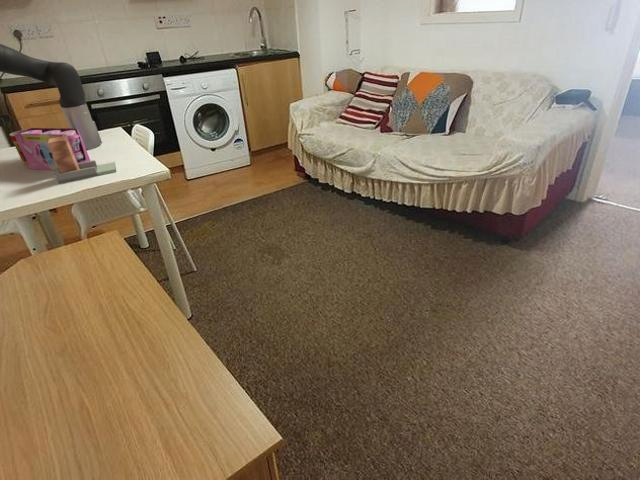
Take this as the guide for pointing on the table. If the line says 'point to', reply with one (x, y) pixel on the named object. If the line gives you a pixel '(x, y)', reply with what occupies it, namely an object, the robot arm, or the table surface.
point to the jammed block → (63, 154)
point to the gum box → (39, 150)
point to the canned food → (19, 148)
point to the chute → (86, 171)
